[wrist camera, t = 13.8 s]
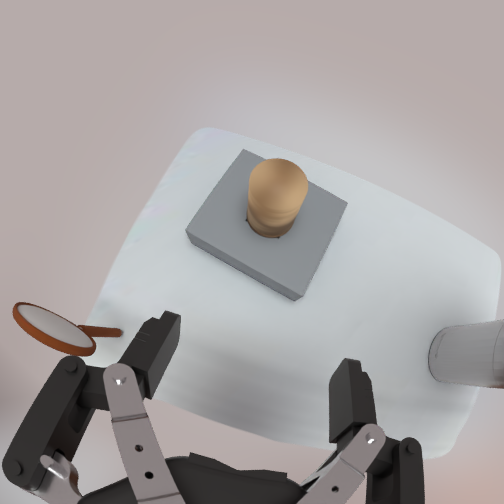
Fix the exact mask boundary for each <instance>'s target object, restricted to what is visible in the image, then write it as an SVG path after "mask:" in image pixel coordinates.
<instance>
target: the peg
mask: <svg viewBox="0 0 504 504" xmlns="http://www.w3.org/2000/svg"><path fill="white" fill-rule="evenodd" d="M307 191H308V181H307V178H306V176H305V174H304V172H303V171H302V170H301V169H300V168H299V167H298V166H297V165H296V164H294V163H292V162H290V161H288V160H284V159H268V160H265V161H263V162H261V163H259V164H258V165H257V166H256V167H255V168H254V169H253V170H252V172H251V174H250V178H249V191H248V206H247V221H248V224H249V226H250V227H251V229H252V230H253V231H254V232H255V233H257V234H258V235H260V236H263V237H266V238H277V237H280V236H283V235H284V234H286V233H287V232H288V231H289V230H290V229H291V227H292V225H293V223H294V220H295V218H296V216H297V214H298V212H299V210H300V207H301V205H302V203H303V201H304V199H305V197H306V194H307Z"/></svg>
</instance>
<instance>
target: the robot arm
mask: <svg viewBox="0 0 504 504" xmlns="http://www.w3.org/2000/svg"><path fill="white" fill-rule="evenodd" d="M180 324H181V315H178V314H175V313H172V312H169V311H165V312H164V313H163V314H162V316H161V318H160V319H156V318H153V317H152V318H151V319H149V320H147V321H146V322H144V323H143V325H142V326H141V328H140V329H139V332H137V334H136V336H135V338H134V339H133V340H132V342H131V343H130V345H129V346H128V348H127V349H126V351H125V352H124V354H123V356H122V357H121V359H120V360H119V361H118V362H117V363H116V364H112V365H110V366H108V367H107V368H100V367H94V366H88V365H86V364H85V362H84V361H83V360H82V359H81V358H80V357H77V356H73V355H71V356H66V357H64V358H63V359H61V360H60V362H59V363H58V364H57V366H56V368H55V369H54V370H53V372H52V374H51V375H50V377H49V378H48V380H47V382H46V383H45V384H44V386H43V388H42V389H41V391H40V393H39V394H38V396H37V398H36V399H35V401H34V402H33V404H32V406H31V408H30V409H29V411H28V413H27V415H26V416H25V418H24V420H23V422H22V423H21V425H20V427H19V429H18V431H17V433H16V435H15V436H14V438H13V440H12V442H11V444H10V446H9V448H8V450H7V453H6V454H5V457H4V459H3V462H2V468H3V472H4V474H5V476H6V477H7V479H8V480H9V481H10V482H12V483H13V484H15V485H17V486H19V487H20V488H22V489H23V490H25V491H27V492H29V493H31V494H33V495H36V496H38V497H40V498H42V499H43V500H45V501H46V502H48V503H49V504H345V503H346V502H347V500H348V499H349V498H350V497H351V496H352V494H353V493H354V492H355V491H356V489H357V488H358V487H359V485H360V484H361V483H362V481H363V480H364V478H365V476H364V472H367V490H366V504H425V494H424V493H425V492H424V472H423V459H422V449H421V445H420V443H419V442H418V441H417V440H416V439H414V438H411V437H408V438H405V439H403V440H402V441H398V440H395V439H392V438H389V437H387V436H385V433H384V431H383V429H382V428H381V427H380V426H378V425H377V420H376V412H375V404H374V399H373V391H372V383H371V380H370V378H369V376H368V374H367V373H366V372H362V368H361V363H360V361H359V360H353V359H348V358H345V359H343V361H342V362H341V364H340V365H339V367H338V368H337V370H336V371H335V372H334V374H333V375H332V377H331V379H330V383H329V443H337V449H335V450H334V451H333V453H332V454H331V455H330V456H329V457H328V458H327V459H326V460H325V461H324V462H323V463H322V464H321V466H320V467H319V468H318V469H317V470H316V471H315V472H314V473H313V474H312V475H310V476H309V477H308V478H307V479H305V480H304V481H303V482H302V483H301V484H300V485H299V484H297V483H296V482H294V481H292V480H290V479H288V478H287V473H284V472H275V471H270V470H242V471H240V470H236V469H234V468H231V467H230V466H227V465H225V464H223V463H221V462H219V461H217V460H215V459H212V458H208V457H205V456H201V455H198V454H194V453H191V452H190V455H189V457H187V456H177V457H170V458H166V459H164V457H163V455H162V452H161V450H160V447H159V444H158V442H157V439H156V437H155V434H154V431H153V428H152V426H151V423H150V420H149V417H148V415H147V413H146V410H145V407H144V404H143V400H144V398H145V397H146V398H148V399H152V397H153V395H154V393H155V391H156V389H157V387H158V385H159V383H160V381H161V379H162V376H163V374H164V372H165V370H166V368H167V366H168V364H169V362H170V360H171V358H172V356H173V354H174V352H175V350H176V348H177V345H178V342H179V337H180ZM429 367H430V371H431V373H432V375H433V377H434V378H435V379H436V380H438V381H441V382H447V383H454V384H461V385H469V386H478V387H489V388H502V389H504V320H497V321H491V322H485V323H478V324H471V325H463V326H455V327H448V328H445V329H443V330H442V331H440V332H439V333H438V334H437V336H436V337H435V339H434V341H433V343H432V345H431V349H430V353H429ZM96 409H100V410H106V411H110V413H111V417H112V420H111V421H112V426H113V430H114V434H115V438H116V441H117V444H118V448H119V451H120V454H121V458H122V461H123V464H124V467H125V469H126V472H127V475H128V477H126V478H124V479H122V480H120V481H117V482H115V483H113V484H110V485H108V486H106V487H103V488H101V489H98V490H96V491H93V492H90V493H88V494H86V495H84V496H82V495H81V493H80V492H79V489H78V486H77V485H78V472H77V470H76V468H75V467H74V465H73V464H72V463H71V461H72V459H73V457H74V455H75V452H76V450H77V448H78V445H79V443H80V441H81V439H82V437H83V435H84V433H85V430H86V428H87V426H88V424H89V422H90V420H91V418H92V416H93V414H94V412H95V410H96Z"/></svg>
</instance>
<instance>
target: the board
mask: <svg viewBox="0 0 504 504" xmlns="http://www.w3.org/2000/svg"><path fill="white" fill-rule="evenodd" d="M265 160H266V159H264V158H262V157H260V156H258V155H256V154H253V153H251V152H249V151H247V150H245V149H243V150H242V151H241V153H240V154H239V155H238V157H237V158H236V159H235V161H234V162H233V163H232V165H231V166H230V167H229V169H228V170H227V171H226V173H225V174H224V175H223V177H222V178H221V179H220V181H219V182H218V184H217V185H216V186H215V188H214V189H213V191H212V192H211V193H210V195H209V196H208V198H207V199H206V200H205V202H204V203H203V205H202V206H201V207H200V209H199V210H198V212H197V213H196V215H195V216H194V218H193V219H192V221H191V222H190V223H189V225H188V226H187V228H186V229H185V231H186V233H187V235H188V237H189V239H190V241H191V243H193V244H194V245H196V246H198V247H199V248H201V249H203V250H205V251H206V252H208V253H210V254H212V255H213V256H215V257H217V258H218V259H220V260H222V261H224V262H225V263H227V264H229V265H231V266H232V267H234V268H236V269H238V270H239V271H241V272H243V273H245V274H247V275H248V276H250V277H252V278H254V279H255V280H257V281H259V282H261V283H263V284H264V285H266V286H268V287H270V288H271V289H273V290H275V291H277V292H279V293H280V294H282V295H284V296H286V297H288V298H289V299H291V300H293V301H296V300H298V299H299V298H301V297H303V295H304V293H305V291H306V289H307V287H308V285H309V283H310V281H311V280H312V278H313V276H314V274H315V272H316V270H317V268H318V266H319V264H320V261H321V259H322V257H323V255H324V253H325V251H326V249H327V247H328V245H329V243H330V241H331V239H332V237H333V234H334V232H335V230H336V228H337V226H338V224H339V222H340V219H341V217H342V215H343V213H344V210H345V208H346V206H347V204H348V203H347V202H345V201H344V200H342V199H340V198H338V197H337V196H335V195H333V194H331V193H330V192H328V191H326V190H324V189H322V188H321V187H319V186H317V185H315V184H313V183H311V182H309V181H308V180H307V181H308V191H307V194H306V197H305V199H304V201H303V203H302V205H301V207H300V210H299V212H298V214H297V216H296V218H295V220H294V223H293V225H292V227H291V229H290V230H289V231H288V232H287V233H286V234H284V235H283V236H280V238H279V239H278V238H266V237H263V236H260V235H258V234H257V233H255V232H254V231H253V230H252V229H251V227H250V226H249V224H248V221H247V206H248V191H249V178H250V174H251V172H252V170H253V169H254V168H255V167H256V166H257V165H258V164H259V163H261V162H263V161H265Z"/></svg>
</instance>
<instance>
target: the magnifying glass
mask: <svg viewBox="0 0 504 504" xmlns="http://www.w3.org/2000/svg"><path fill="white" fill-rule="evenodd" d="M13 317H14V319H15V320H16V322H17V323H18V324H19V326H20V327H21V328H22V329H23V330H24V331H26V332H27V333H28V334H29V335H31V336H32V337H33V338H35V339H36V340H38V341H40V342H42V343H43V344H45V345H47V346H49V347H51V348H53V349H55V350H58V351H61V352H64V353H67V354H70V355H75V356H91V355H92V354H93V353H94V352H95V350H96V343H95V341H94V340H93V338H92V337H120V336H121V335H122V331H121V330H120V329H118V328H106V327H95V326H85V325H78V326H76V325H75V324H73V323H72V322H70V321H68V320H66V319H65V318H63V317H61V316H59V315H57V314H55V313H53V312H51V311H49V310H46V309H44V308H42V307H39V306H36V305H33V304H30V303H24V302H19V303H16V304H15V306H14V308H13Z"/></svg>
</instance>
